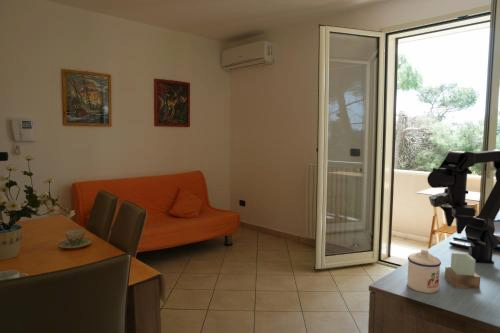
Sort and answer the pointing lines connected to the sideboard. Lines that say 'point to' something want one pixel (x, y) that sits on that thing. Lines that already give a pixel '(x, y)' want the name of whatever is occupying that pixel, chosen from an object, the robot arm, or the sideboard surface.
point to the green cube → (463, 264)
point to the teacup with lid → (423, 272)
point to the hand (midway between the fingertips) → (453, 229)
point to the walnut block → (462, 279)
